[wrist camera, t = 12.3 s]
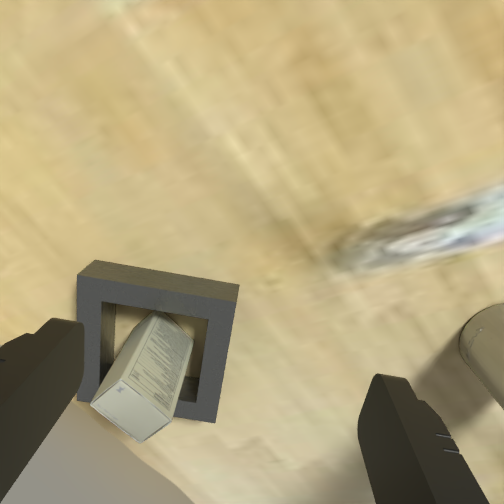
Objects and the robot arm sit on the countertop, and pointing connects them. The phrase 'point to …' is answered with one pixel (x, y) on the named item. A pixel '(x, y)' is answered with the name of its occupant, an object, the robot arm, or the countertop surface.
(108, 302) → the dark grey square frame
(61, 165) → the countertop surface
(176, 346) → the skincare box
